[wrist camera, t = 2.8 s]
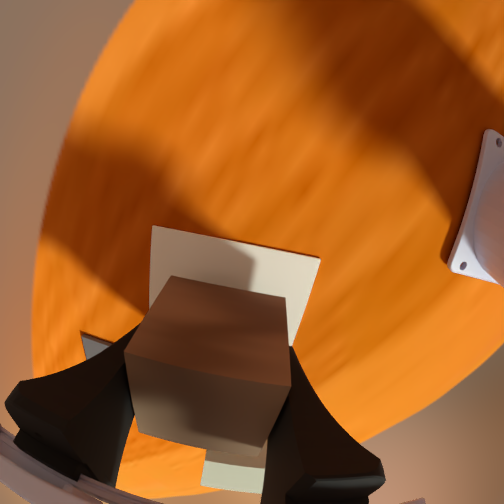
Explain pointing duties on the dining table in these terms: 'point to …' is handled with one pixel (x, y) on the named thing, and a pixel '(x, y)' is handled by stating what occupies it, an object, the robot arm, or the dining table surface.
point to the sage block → (234, 471)
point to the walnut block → (210, 366)
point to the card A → (233, 268)
